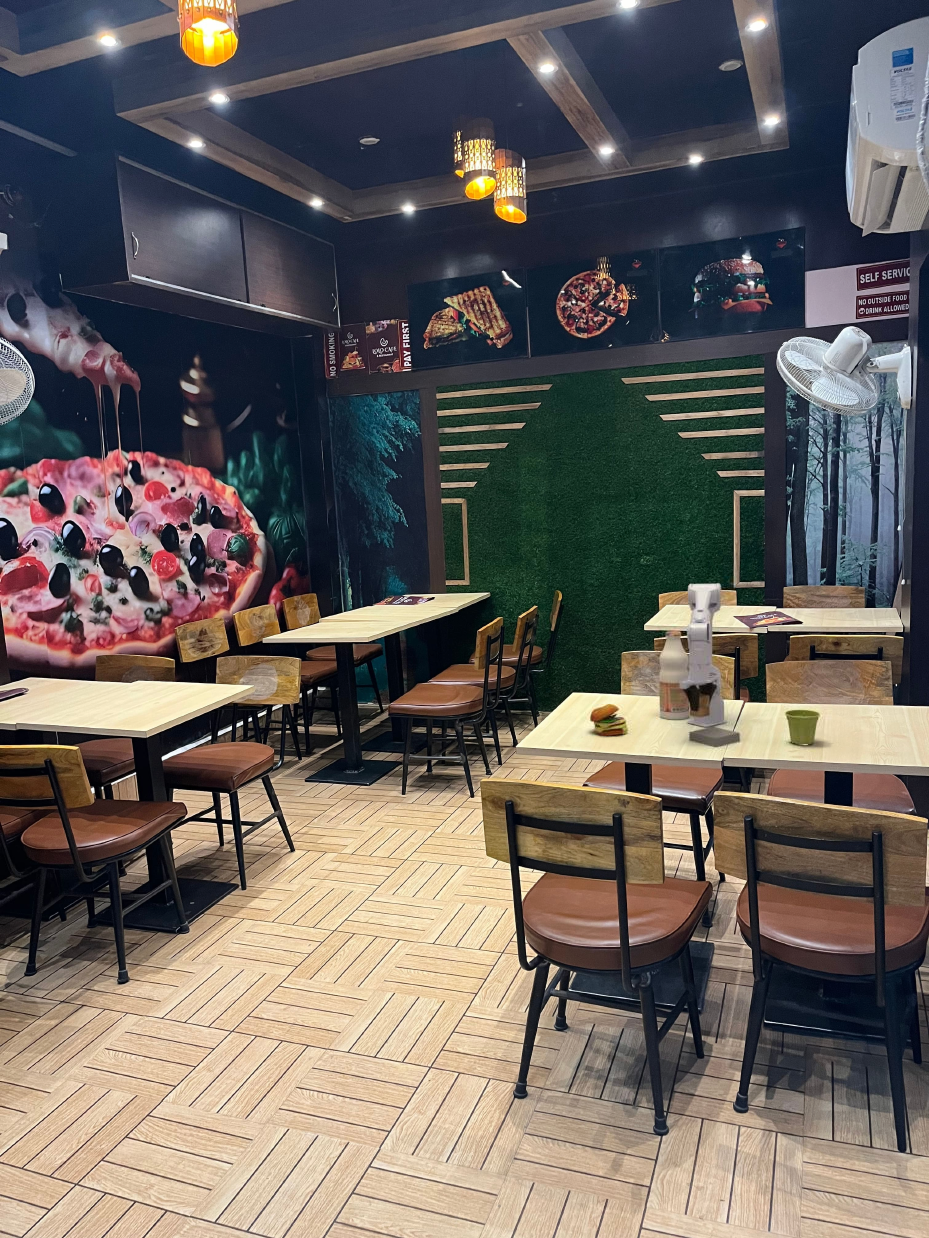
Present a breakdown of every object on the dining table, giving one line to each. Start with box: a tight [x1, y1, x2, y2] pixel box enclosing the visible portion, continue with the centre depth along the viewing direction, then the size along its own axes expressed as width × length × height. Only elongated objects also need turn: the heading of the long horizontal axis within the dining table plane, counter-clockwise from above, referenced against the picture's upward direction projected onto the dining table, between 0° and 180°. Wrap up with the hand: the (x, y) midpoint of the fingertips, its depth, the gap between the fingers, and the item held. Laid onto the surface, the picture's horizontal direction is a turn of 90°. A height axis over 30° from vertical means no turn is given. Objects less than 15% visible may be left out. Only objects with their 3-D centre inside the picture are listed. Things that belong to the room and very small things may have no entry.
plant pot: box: [784, 709, 821, 745], centre depth 254 cm, size 9×9×9 cm
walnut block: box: [689, 694, 710, 718], centre depth 262 cm, size 4×4×6 cm
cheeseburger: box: [589, 703, 629, 737], centre depth 275 cm, size 10×11×10 cm
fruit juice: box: [658, 630, 690, 721], centre depth 291 cm, size 9×9×28 cm
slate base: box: [688, 726, 741, 748], centre depth 261 cm, size 10×10×3 cm
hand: (700, 709), depth 262 cm, fingers closed on walnut block, 4 cm apart
